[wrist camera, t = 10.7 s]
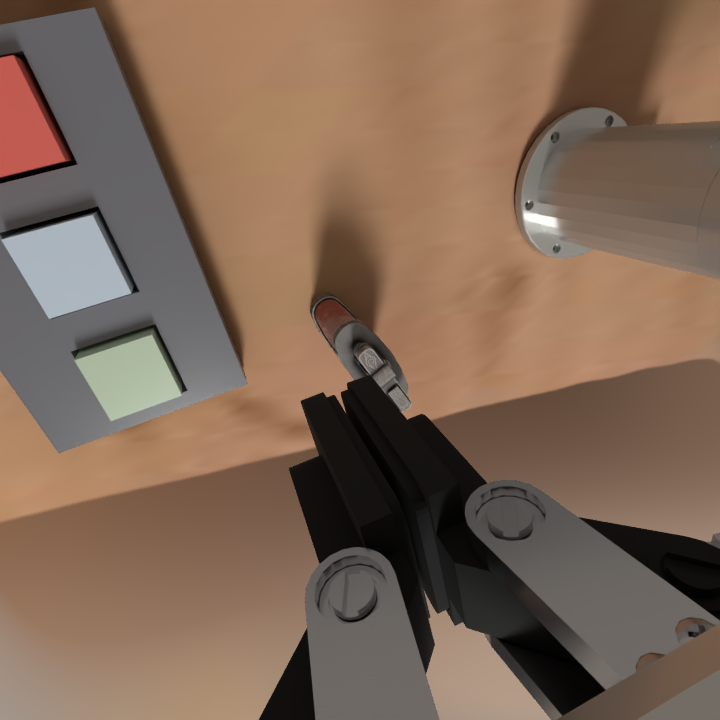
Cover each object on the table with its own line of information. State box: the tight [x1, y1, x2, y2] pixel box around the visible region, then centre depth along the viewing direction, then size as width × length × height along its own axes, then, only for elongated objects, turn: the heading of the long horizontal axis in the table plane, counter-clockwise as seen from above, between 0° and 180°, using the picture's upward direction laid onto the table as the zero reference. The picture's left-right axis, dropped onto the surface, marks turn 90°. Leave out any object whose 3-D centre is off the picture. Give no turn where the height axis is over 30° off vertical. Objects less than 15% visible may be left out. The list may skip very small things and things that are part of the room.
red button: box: [0, 55, 76, 179], centre depth 25 cm, size 5×5×3 cm
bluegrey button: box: [2, 209, 135, 319], centre depth 29 cm, size 5×5×3 cm
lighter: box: [310, 294, 412, 412], centre depth 36 cm, size 8×3×10 cm, turn 34°
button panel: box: [0, 7, 247, 453], centre depth 30 cm, size 14×24×3 cm, turn 14°
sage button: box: [74, 324, 182, 421], centre depth 33 cm, size 5×5×3 cm
